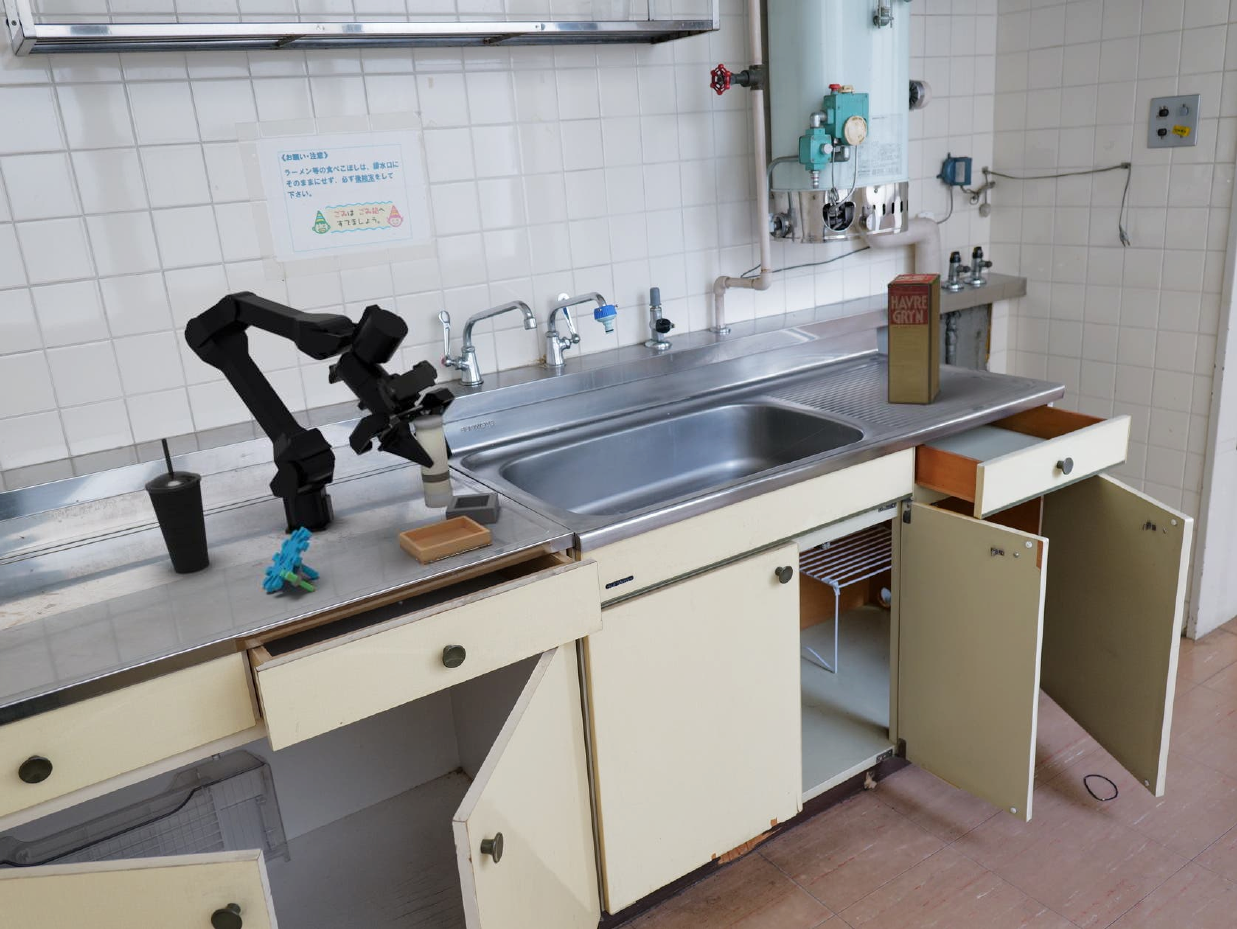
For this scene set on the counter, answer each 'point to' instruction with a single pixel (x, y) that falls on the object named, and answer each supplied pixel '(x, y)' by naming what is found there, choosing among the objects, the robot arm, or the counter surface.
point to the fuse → (439, 475)
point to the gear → (290, 563)
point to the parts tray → (443, 539)
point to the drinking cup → (180, 516)
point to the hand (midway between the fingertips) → (441, 461)
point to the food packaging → (913, 338)
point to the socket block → (475, 507)
